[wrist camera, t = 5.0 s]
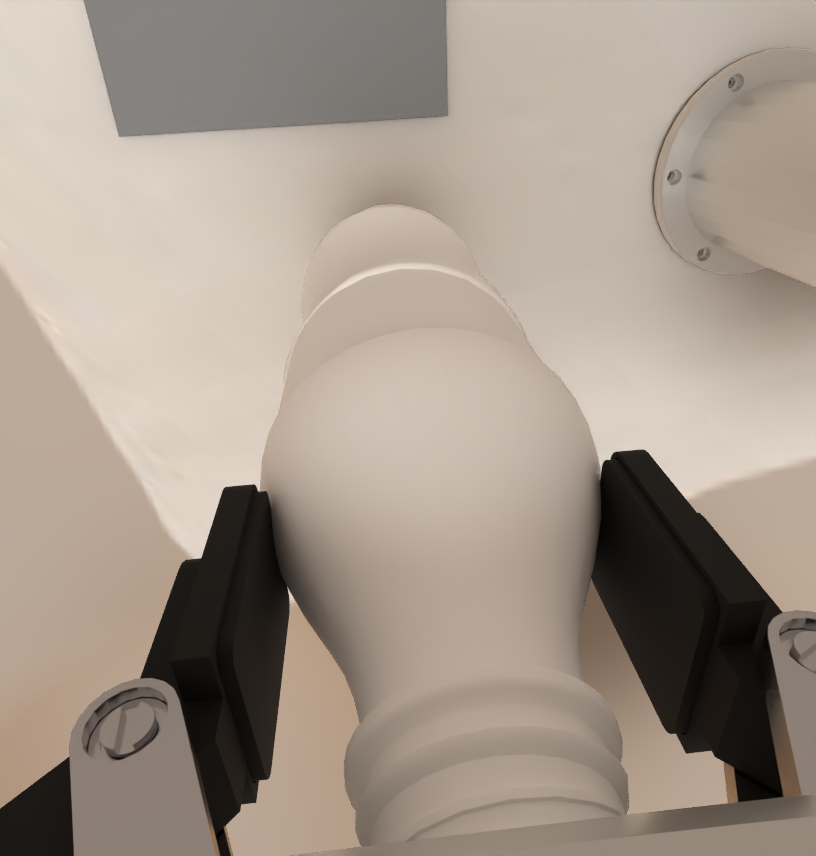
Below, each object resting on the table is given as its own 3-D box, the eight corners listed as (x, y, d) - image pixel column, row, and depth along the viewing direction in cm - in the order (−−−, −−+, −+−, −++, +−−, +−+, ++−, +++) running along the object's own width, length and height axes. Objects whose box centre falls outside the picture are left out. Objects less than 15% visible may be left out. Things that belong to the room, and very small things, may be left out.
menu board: (441, -143, 29) (442, -148, 28) (445, 115, 34) (447, 115, 34) (54, -128, 28) (48, -133, 27) (122, 135, 33) (119, 136, 33)
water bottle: (295, 202, 26) (-13, 845, 4) (463, 186, 26) (1057, 707, 4) (321, 359, 29) (235, 1150, 7) (468, 343, 29) (803, 1066, 8)
